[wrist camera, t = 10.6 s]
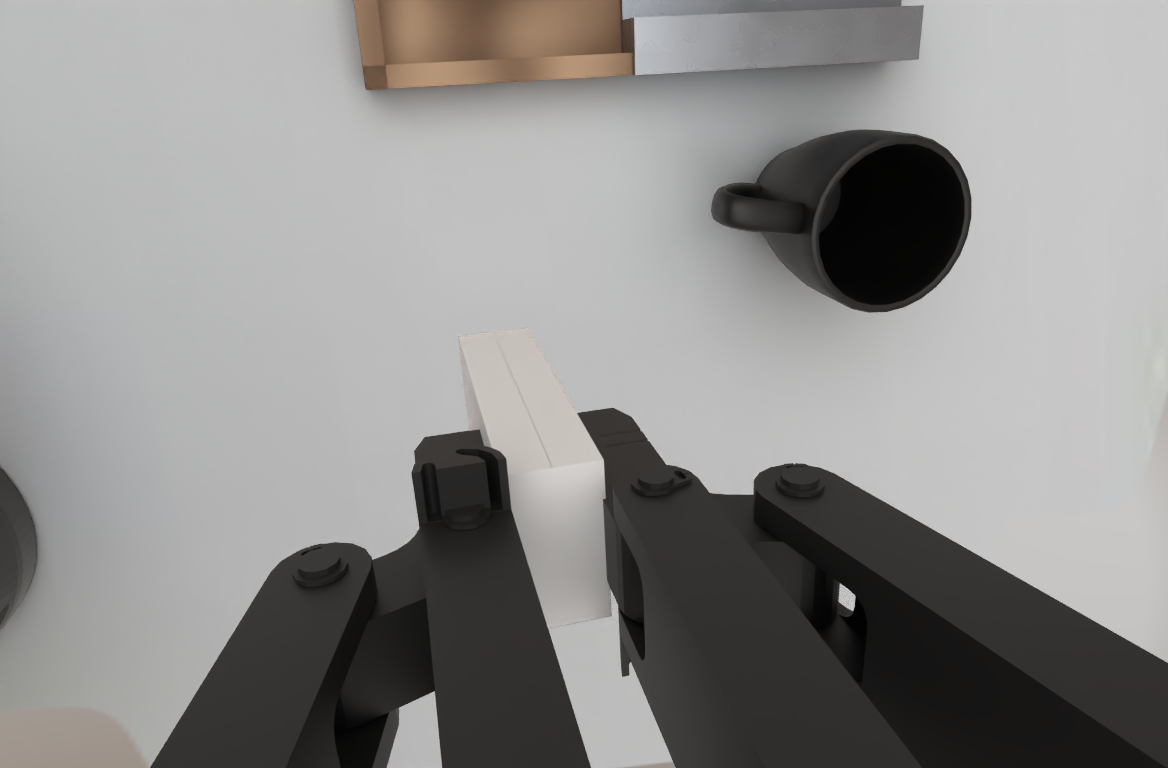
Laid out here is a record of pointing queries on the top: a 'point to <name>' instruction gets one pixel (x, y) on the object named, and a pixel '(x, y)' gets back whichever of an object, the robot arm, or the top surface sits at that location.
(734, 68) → the slot rail
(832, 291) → the mug
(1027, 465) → the top surface
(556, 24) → the tray
